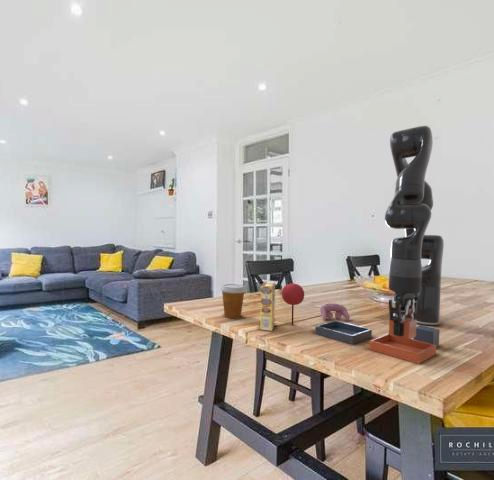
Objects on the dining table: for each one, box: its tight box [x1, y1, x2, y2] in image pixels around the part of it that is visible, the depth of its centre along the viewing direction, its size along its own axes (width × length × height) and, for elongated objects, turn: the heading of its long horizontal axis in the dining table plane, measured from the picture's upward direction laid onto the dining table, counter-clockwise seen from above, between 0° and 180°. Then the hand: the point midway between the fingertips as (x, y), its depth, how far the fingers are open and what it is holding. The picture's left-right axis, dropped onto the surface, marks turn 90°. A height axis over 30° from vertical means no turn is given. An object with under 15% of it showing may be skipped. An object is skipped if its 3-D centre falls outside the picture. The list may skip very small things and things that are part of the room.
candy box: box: [259, 281, 276, 332], centre depth 115 cm, size 9×4×15 cm, turn 159°
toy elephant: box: [319, 302, 350, 322], centre depth 128 cm, size 10×5×7 cm, turn 84°
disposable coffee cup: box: [220, 283, 246, 319], centre depth 129 cm, size 10×10×12 cm
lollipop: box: [281, 283, 305, 326], centre depth 119 cm, size 8×8×15 cm
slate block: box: [412, 324, 440, 348], centre depth 100 cm, size 5×5×5 cm
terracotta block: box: [388, 317, 418, 340], centre depth 93 cm, size 5×5×5 cm
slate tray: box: [314, 320, 373, 345], centre depth 108 cm, size 12×12×3 cm
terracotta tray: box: [368, 333, 437, 365], centre depth 94 cm, size 12×12×3 cm
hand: (402, 333), depth 93 cm, fingers closed on terracotta block, 5 cm apart
